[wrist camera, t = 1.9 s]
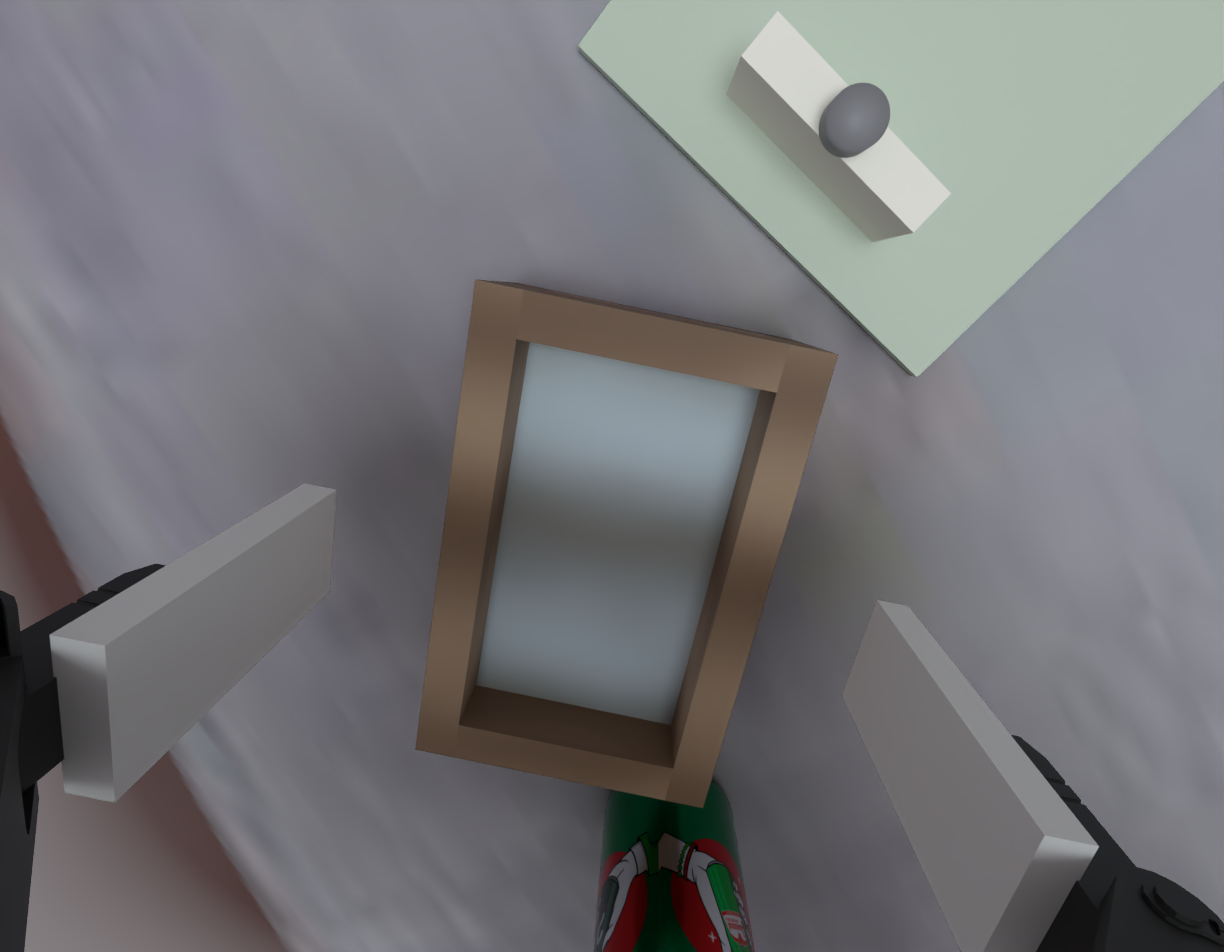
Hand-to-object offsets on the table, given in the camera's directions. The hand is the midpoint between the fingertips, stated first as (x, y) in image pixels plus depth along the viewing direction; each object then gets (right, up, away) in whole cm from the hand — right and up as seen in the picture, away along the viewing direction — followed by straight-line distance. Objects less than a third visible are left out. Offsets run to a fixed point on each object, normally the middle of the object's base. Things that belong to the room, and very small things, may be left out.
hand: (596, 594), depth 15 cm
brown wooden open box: (0, +2, +7) cm, 7 cm away
